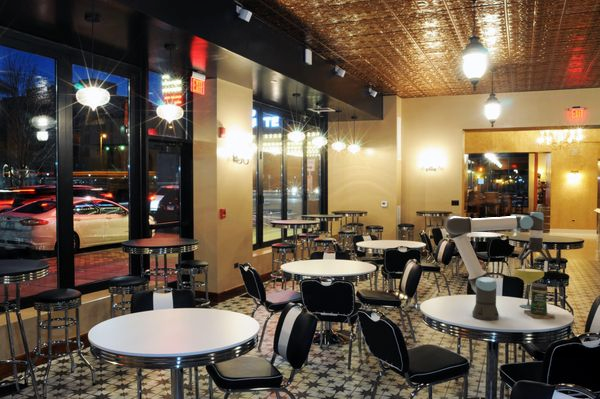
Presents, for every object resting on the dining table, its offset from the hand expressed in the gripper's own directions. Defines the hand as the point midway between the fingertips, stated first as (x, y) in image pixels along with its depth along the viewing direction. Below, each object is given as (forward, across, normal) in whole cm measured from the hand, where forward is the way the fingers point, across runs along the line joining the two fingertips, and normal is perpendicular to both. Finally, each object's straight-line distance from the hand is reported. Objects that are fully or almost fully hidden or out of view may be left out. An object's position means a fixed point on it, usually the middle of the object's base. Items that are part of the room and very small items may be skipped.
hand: (534, 271), depth 314 cm
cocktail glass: (+27, +6, +21) cm, 35 cm away
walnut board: (+27, +3, -2) cm, 27 cm away
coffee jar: (+26, +3, -2) cm, 26 cm away
